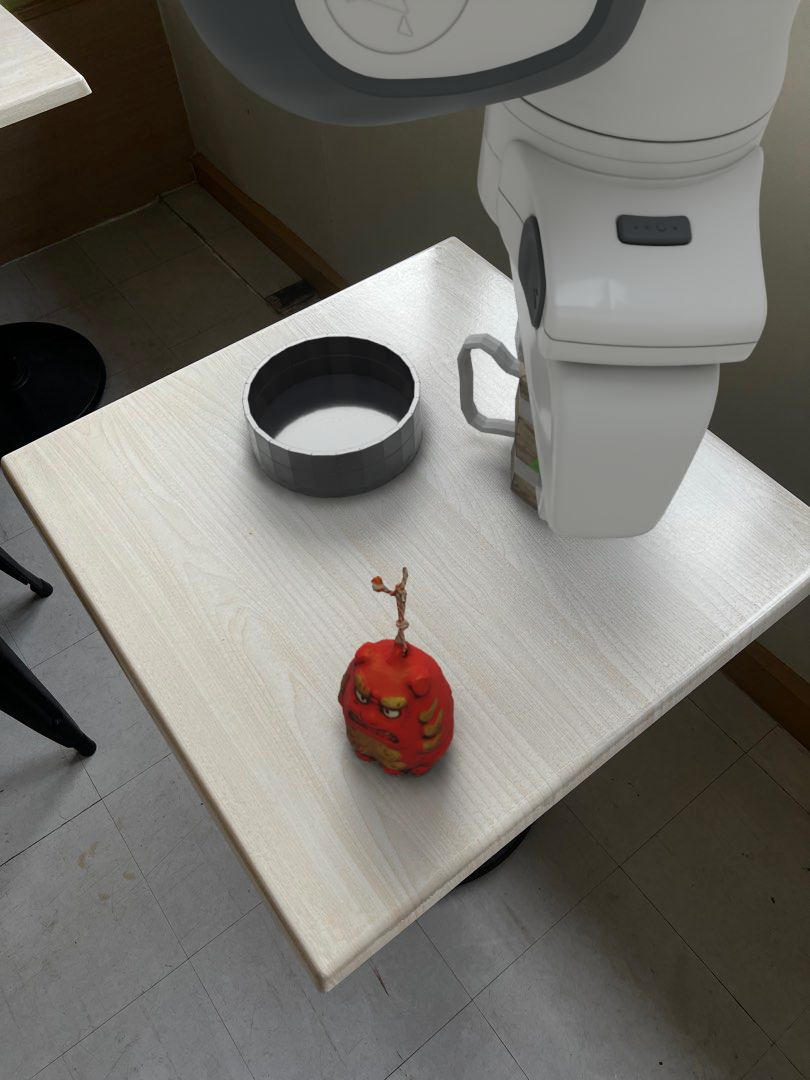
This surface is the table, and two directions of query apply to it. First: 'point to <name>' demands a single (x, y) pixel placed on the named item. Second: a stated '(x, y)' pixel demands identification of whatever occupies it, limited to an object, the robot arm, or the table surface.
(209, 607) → the table surface
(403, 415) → the pan
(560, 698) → the table surface
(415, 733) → the red clay folk toy
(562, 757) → the table surface
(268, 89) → the robot arm
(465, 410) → the mug
